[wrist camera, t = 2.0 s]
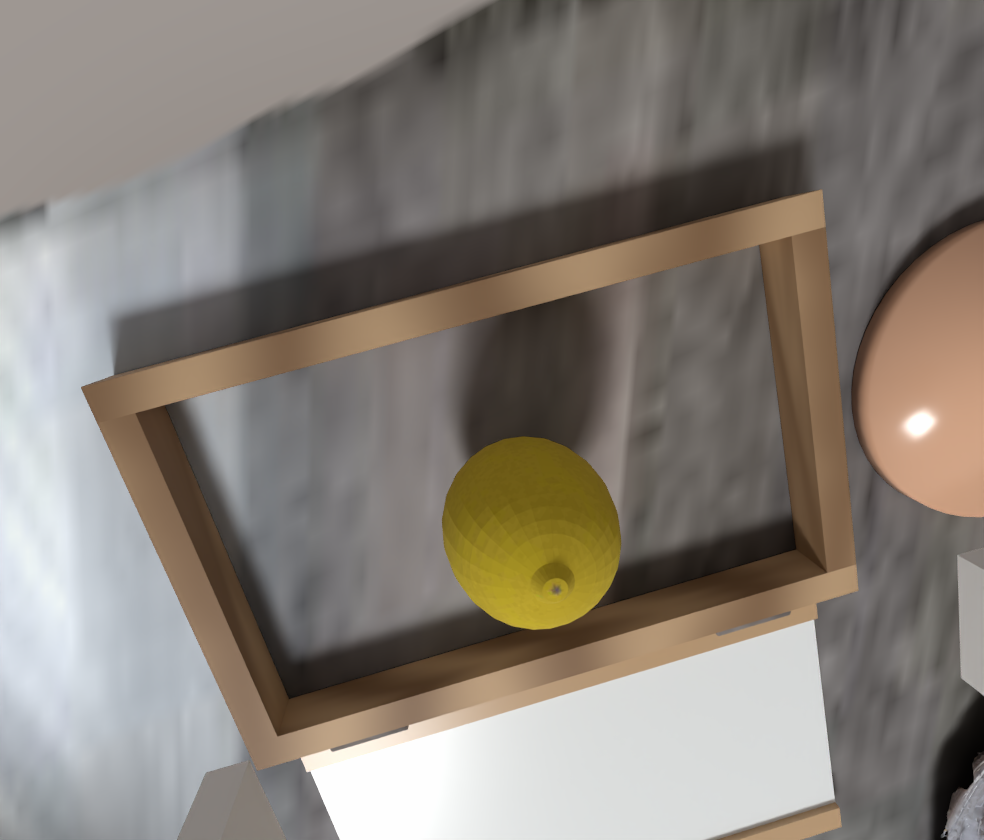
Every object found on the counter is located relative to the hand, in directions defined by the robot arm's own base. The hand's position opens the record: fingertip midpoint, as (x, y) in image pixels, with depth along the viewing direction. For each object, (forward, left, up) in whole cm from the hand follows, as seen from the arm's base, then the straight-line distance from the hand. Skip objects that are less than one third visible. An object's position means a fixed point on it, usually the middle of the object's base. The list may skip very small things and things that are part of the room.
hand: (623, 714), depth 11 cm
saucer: (+20, -1, -13) cm, 23 cm away
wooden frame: (0, 0, -13) cm, 13 cm away
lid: (0, -15, -13) cm, 19 cm away
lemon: (0, 0, -13) cm, 13 cm away
